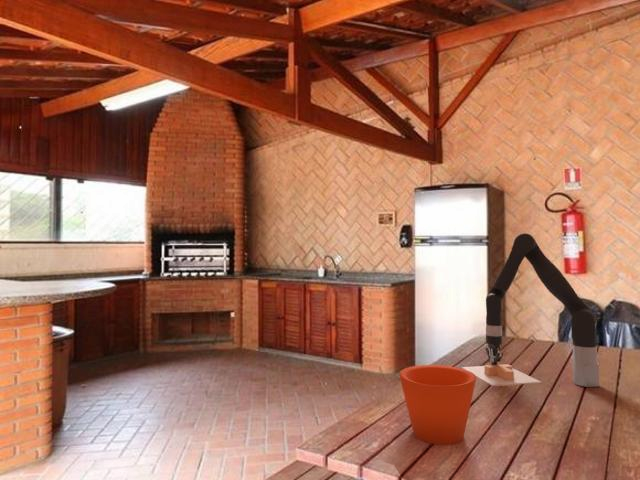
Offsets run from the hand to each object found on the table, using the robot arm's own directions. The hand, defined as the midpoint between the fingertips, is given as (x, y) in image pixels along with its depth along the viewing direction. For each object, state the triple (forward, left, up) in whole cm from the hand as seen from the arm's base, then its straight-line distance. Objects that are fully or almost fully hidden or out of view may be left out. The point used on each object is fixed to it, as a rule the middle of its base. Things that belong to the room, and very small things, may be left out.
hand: (494, 369), depth 221 cm
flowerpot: (-64, +55, -2) cm, 84 cm away
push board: (-4, 0, -2) cm, 4 cm away
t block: (-8, 0, -1) cm, 8 cm away
